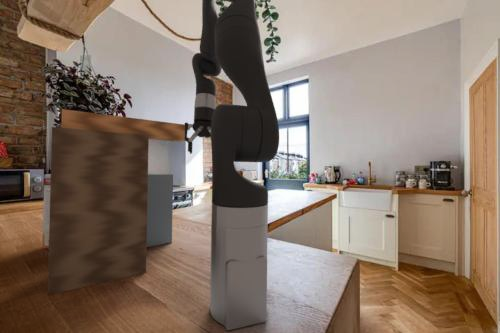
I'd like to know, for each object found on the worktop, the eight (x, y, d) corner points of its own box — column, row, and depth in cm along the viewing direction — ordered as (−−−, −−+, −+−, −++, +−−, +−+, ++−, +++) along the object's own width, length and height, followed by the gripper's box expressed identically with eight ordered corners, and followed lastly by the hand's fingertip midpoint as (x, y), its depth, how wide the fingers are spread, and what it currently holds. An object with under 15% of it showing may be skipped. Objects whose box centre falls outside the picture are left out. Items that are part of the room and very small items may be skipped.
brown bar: (179, 141, 60) (180, 126, 60) (184, 140, 56) (185, 124, 56) (64, 132, 46) (64, 113, 46) (61, 129, 43) (61, 109, 43)
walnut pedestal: (139, 257, 57) (141, 140, 57) (145, 272, 48) (148, 135, 49) (56, 273, 48) (59, 133, 48) (47, 295, 39) (51, 126, 40)
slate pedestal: (163, 234, 76) (165, 173, 77) (171, 242, 68) (173, 174, 68) (108, 242, 67) (110, 173, 68) (110, 253, 59) (112, 174, 59)
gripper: (184, 103, 74) (182, 151, 72) (226, 108, 78) (225, 154, 77) (184, 110, 81) (182, 154, 79) (223, 114, 85) (221, 156, 84)
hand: (203, 154), depth 78 cm, fingers open, 8 cm apart
